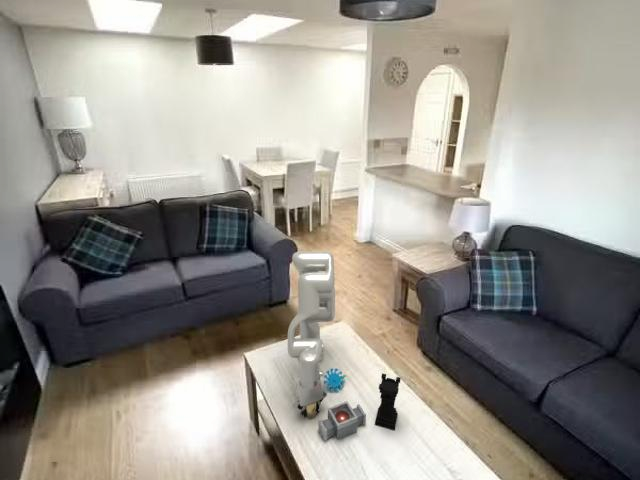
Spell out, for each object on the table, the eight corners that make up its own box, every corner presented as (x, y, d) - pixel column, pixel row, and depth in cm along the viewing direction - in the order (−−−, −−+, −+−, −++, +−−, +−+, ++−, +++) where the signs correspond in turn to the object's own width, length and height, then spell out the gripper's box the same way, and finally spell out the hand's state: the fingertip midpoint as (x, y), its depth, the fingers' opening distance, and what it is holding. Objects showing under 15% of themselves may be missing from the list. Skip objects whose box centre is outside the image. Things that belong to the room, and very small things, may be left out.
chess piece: (397, 414, 147) (401, 377, 139) (394, 430, 141) (399, 392, 133) (378, 409, 150) (381, 372, 142) (374, 424, 143) (377, 387, 135)
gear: (327, 394, 155) (322, 370, 159) (322, 394, 160) (317, 371, 163) (349, 388, 160) (344, 365, 163) (343, 389, 165) (338, 366, 168)
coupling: (302, 411, 149) (302, 399, 146) (313, 407, 151) (313, 395, 148) (307, 420, 145) (306, 408, 142) (318, 416, 147) (318, 404, 144)
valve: (316, 427, 142) (316, 412, 139) (356, 411, 149) (357, 397, 146) (326, 445, 135) (326, 430, 132) (367, 428, 142) (368, 413, 138)
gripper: (325, 366, 146) (325, 399, 154) (285, 379, 140) (287, 412, 147) (333, 378, 140) (333, 412, 147) (292, 393, 134) (294, 427, 141)
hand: (310, 412), depth 147 cm, fingers closed on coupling, 5 cm apart
